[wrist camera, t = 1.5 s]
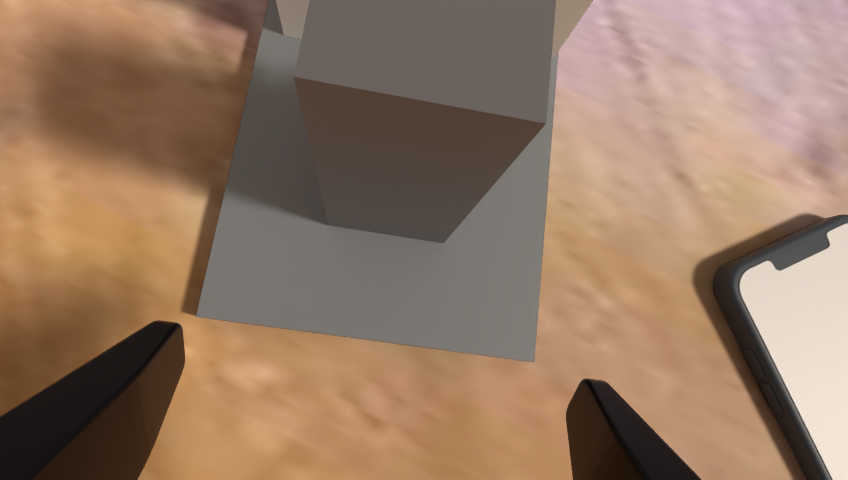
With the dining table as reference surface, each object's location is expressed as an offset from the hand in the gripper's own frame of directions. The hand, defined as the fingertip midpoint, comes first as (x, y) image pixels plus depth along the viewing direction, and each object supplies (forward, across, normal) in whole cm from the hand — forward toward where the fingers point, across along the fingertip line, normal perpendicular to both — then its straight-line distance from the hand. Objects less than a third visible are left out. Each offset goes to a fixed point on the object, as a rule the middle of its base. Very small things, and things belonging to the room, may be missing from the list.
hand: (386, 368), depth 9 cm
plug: (+14, 0, +3) cm, 14 cm away
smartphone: (+10, -23, +8) cm, 27 cm away
